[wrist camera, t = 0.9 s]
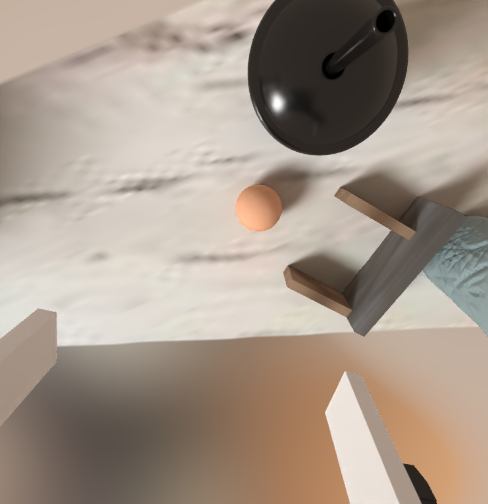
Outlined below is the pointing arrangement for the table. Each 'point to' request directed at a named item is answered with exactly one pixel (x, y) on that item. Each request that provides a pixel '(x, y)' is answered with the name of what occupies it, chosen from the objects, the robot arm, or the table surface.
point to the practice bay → (384, 261)
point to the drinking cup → (327, 71)
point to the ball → (258, 208)
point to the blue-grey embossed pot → (465, 269)
